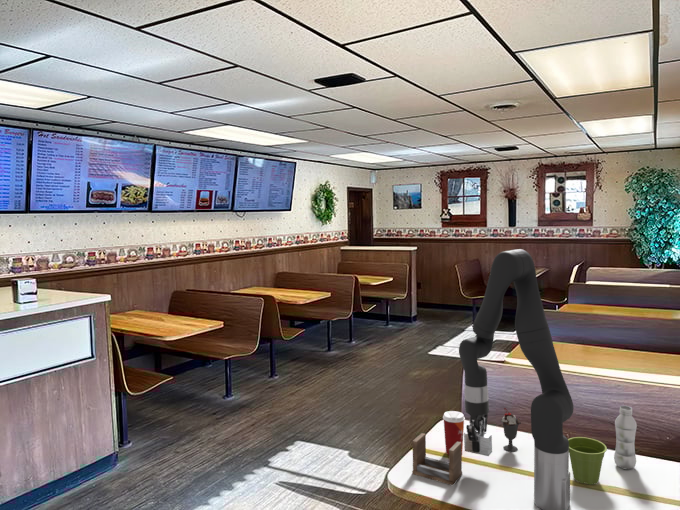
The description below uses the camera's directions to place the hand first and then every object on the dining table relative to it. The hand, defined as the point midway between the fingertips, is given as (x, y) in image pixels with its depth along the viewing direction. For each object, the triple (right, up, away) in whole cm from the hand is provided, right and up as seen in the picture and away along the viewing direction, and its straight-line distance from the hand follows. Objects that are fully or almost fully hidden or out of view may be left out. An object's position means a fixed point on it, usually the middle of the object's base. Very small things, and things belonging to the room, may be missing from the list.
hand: (478, 449), depth 171 cm
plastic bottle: (+48, -6, +1) cm, 49 cm away
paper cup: (-5, -7, +14) cm, 16 cm away
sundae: (+16, -6, +16) cm, 23 cm away
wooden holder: (-14, -8, -1) cm, 16 cm away
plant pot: (+32, -7, -6) cm, 34 cm away
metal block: (0, -1, 0) cm, 1 cm away
